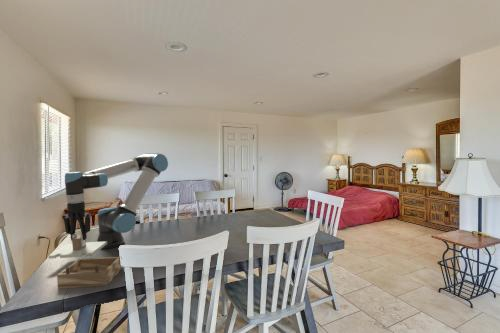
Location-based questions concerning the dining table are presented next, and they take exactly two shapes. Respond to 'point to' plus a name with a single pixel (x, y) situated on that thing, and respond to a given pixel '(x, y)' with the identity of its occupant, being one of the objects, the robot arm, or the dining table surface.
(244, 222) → the dining table surface
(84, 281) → the shallow wooden tray
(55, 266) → the dining table surface
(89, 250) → the white box lid
